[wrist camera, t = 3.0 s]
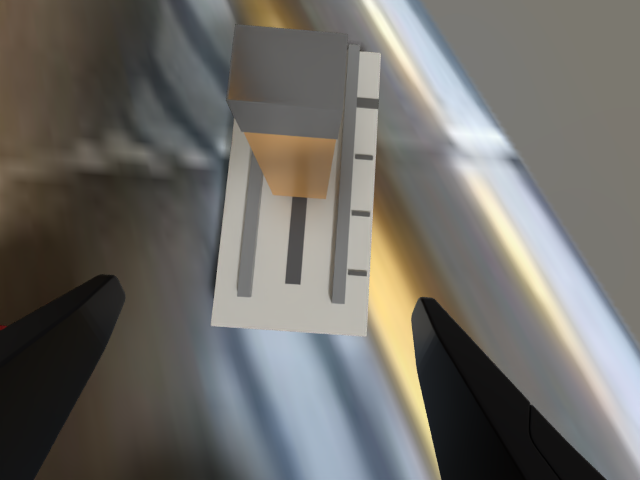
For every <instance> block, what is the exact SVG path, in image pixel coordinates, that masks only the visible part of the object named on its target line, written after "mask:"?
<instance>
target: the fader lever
mask: <svg viewBox="0 0 640 480" xmlns="http://www.w3.org/2000/svg"><path fill="white" fill-rule="evenodd" d="M347 43H348V34H343V33H331V32H319V31H308V30H296V29H284V28H273V27H261V26H249V25H238V24H235V30H234V38H233V47H232V55H231V64H230V72H229V81H228V89H227V98H226V101H227V103H228V106H229V108H230V110H231V112H232V114H233V116H234V118H235V120H236V122H237V124H238V126H239V128H240V130H241V132H244V134H245V136H246V139H247V141H248V143H249V145H250V147H251V149H252V151H253V153H254V155H255V158H256V160H257V162H258V164H259V166H260V168H261V170H262V172H263V174H264V177H265V179H266V181H267V183H268V185H269V187H270V189H271V191H272V194H273V195H278V196H291V197H305V198H318V199H326V195H327V189H328V184H329V178H330V172H331V167H332V161H333V155H334V149H335V144H336V139H338V135H339V130H340V124H341V119H342V113H343V104H344V89H345V74H346V59H347Z"/></svg>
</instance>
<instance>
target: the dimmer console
mask: <svg viewBox="0 0 640 480" xmlns="http://www.w3.org/2000/svg"><path fill="white" fill-rule="evenodd" d="M380 60H381V53H372V52H360V45H353V44H349V47H348V50H347V59H346V74H345V89H344V104H343V113H342V119H341V124H340V130H339V135H338V139H336V144H335V149H334V155H333V161H332V167H331V172H330V178H329V184H328V189H327V195H326V199H318V198H305V197H291V196H278V195H273V194H272V191H271V189H270V187H269V185H268V183H267V181H266V179H265V177H264V174H263V172H262V170H261V168H260V166H259V164H258V162H257V160H256V158H255V155H254V153H253V151H252V149H251V147H250V145H249V143H248V141H247V139H246V136H245V134H244V132H241V130H240V128H239V126H238V124H237V122H236V120H235V118H234V126H233V134H232V143H231V152H230V161H229V170H228V179H227V187H226V196H225V205H224V214H223V223H222V232H221V240H220V249H219V258H218V267H217V276H216V285H215V294H214V302H213V311H212V320H211V326H219V327H234V328H248V329H263V330H277V331H292V332H306V333H321V334H335V335H350V336H365V337H366V336H367V316H368V297H369V277H370V257H371V237H372V218H373V198H374V178H375V158H376V139H377V119H378V105H379V80H380Z"/></svg>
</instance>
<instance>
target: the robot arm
mask: <svg viewBox="0 0 640 480" xmlns="http://www.w3.org/2000/svg"><path fill="white" fill-rule="evenodd" d="M124 302H125V292H124V290H123V288H122V286H121V284H120V282H119V280H118V278H117V277H116V276H114V275H104V274H102V275H98V276H96V277H94V278H92V279H91V280H89V281H87V282H85V283H83V284H82V285H80V286H78V287H76V288H75V289H73V290H71V291H69V292H68V293H66V294H64V295H62V296H60V297H59V298H57V299H55V300H53V301H52V302H50V303H48V304H46V305H44V306H43V307H41V308H39V309H37V310H36V311H34V312H32V313H30V314H29V315H27V316H25V317H23V318H21V319H20V320H18V321H16V322H14V323H13V324H11V325H9V326H7V327H5V328H4V329H2V330H0V480H34V478H35V477H36V475H37V473H38V471H39V469H40V467H41V466H42V464H43V462H44V460H45V458H46V456H47V455H48V453H49V451H50V449H51V447H52V445H53V444H54V442H55V440H56V438H57V436H58V434H59V433H60V431H61V429H62V427H63V425H64V423H65V421H66V420H67V418H68V416H69V414H70V412H71V410H72V409H73V407H74V405H75V403H76V401H77V399H78V398H79V396H80V394H81V392H82V390H83V388H84V387H85V385H86V383H87V381H88V379H89V377H90V376H91V374H92V372H93V370H94V368H95V366H96V365H97V363H98V361H99V359H100V357H101V355H102V353H103V351H104V349H105V347H106V345H107V343H108V341H109V338H110V336H111V334H112V331H113V329H114V326H115V324H116V321H117V319H118V317H119V314H120V312H121V309H122V307H123V305H124ZM411 322H412V331H413V340H414V349H415V359H416V367H417V373H418V378H419V382H420V387H421V391H422V396H423V400H424V404H425V409H426V413H427V418H428V422H429V427H430V431H431V435H432V440H433V444H434V449H435V453H436V458H437V462H438V466H439V471H440V475H441V480H606V479H605V478H604V477H603V476H602V475H601V474H600V473H599V472H598V471H597V470H596V469H595V468H594V467H593V466H592V465H591V464H590V463H589V462H588V461H587V460H586V459H585V458H584V457H583V456H582V455H581V454H580V453H578V452H577V451H576V450H575V449H574V448H573V447H572V446H571V445H570V444H569V443H568V442H567V441H566V440H565V439H564V438H563V437H562V436H561V434H560V433H559V432H558V431H557V430H556V429H555V428H554V427H553V426H552V425H551V424H550V423H549V422H548V421H547V420H546V419H545V418H544V417H543V416H542V414H541V413H540V412H539V411H538V410H537V409H536V408H535V407H534V406H533V405H530V402H529V401H528V400H527V398H526V397H525V396H524V395H523V394H522V393H521V392H520V391H519V390H518V389H517V388H516V387H515V385H514V384H513V383H512V382H511V381H510V380H509V379H508V378H507V377H506V376H505V375H504V374H503V372H502V371H501V370H500V369H499V368H498V367H497V366H496V365H495V364H494V363H493V362H492V361H491V359H490V358H489V357H488V356H487V355H486V354H485V353H484V352H483V351H482V350H481V349H480V348H479V347H478V345H477V344H476V343H475V342H474V341H473V340H472V339H471V338H470V337H469V336H468V335H467V334H466V332H465V331H464V330H463V329H462V328H461V327H460V326H459V325H458V324H457V323H456V322H455V321H454V319H453V318H452V317H451V316H450V315H449V314H448V313H447V312H446V311H445V310H444V309H443V308H442V306H441V305H440V304H439V303H438V302H437V301H436V300H435V299H433V298H428V297H420V298H419V299H418V301H417V303H416V306H415V308H414V311H413V313H412V318H411Z"/></svg>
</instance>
